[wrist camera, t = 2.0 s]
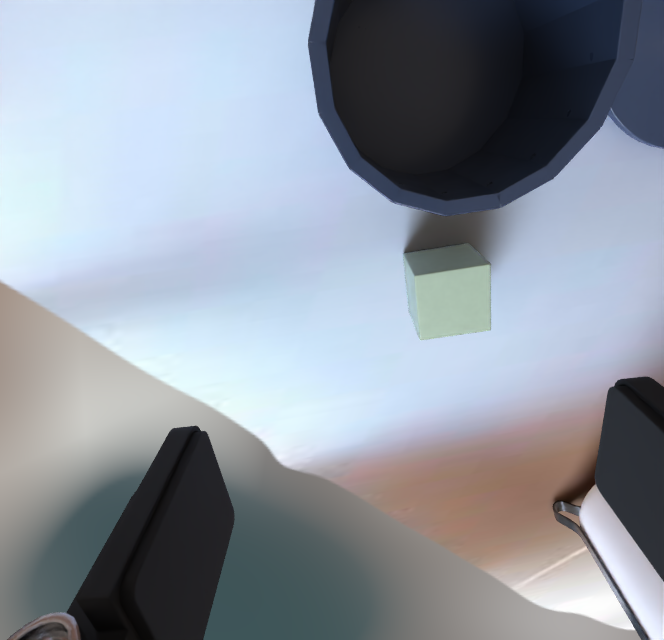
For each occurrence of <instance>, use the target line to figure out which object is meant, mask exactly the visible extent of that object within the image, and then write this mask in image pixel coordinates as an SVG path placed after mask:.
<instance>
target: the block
mask: <svg viewBox="0 0 664 640" xmlns="http://www.w3.org/2000/svg"><path fill="white" fill-rule="evenodd" d="M403 259H404V269H405V279H406V289H407V299H408V309H409V313H410V316H411V318H412V321H413V324H414V326H415V329H416V331H417V334H418V337H419V339H420V340H427V339H434V338H441V337H448V336H455V335H462V334H469V333H476V332H483V331H489V330H491V264H490V263H489V262H488V261H487V260H486V259H485V258H484V257H483V256H482V255H481V254H480V253H479V252H477V251H476V250H475V249H474V248H473V247H472V246H471V245H470V244H469V243H465V244H459V245H453V246H447V247H441V248H434V249H428V250H422V251H416V252H410V253H404V254H403Z"/></svg>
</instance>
